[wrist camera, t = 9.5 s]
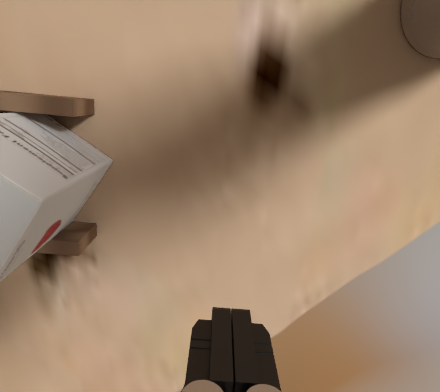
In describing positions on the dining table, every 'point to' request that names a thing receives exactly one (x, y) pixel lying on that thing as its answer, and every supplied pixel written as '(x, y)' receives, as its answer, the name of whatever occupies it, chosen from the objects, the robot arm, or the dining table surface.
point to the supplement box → (41, 183)
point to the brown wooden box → (63, 106)
